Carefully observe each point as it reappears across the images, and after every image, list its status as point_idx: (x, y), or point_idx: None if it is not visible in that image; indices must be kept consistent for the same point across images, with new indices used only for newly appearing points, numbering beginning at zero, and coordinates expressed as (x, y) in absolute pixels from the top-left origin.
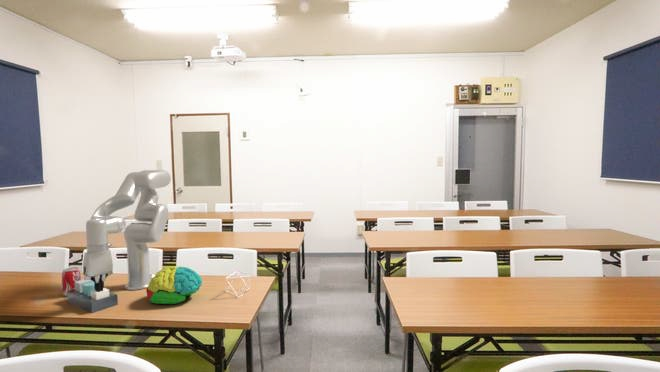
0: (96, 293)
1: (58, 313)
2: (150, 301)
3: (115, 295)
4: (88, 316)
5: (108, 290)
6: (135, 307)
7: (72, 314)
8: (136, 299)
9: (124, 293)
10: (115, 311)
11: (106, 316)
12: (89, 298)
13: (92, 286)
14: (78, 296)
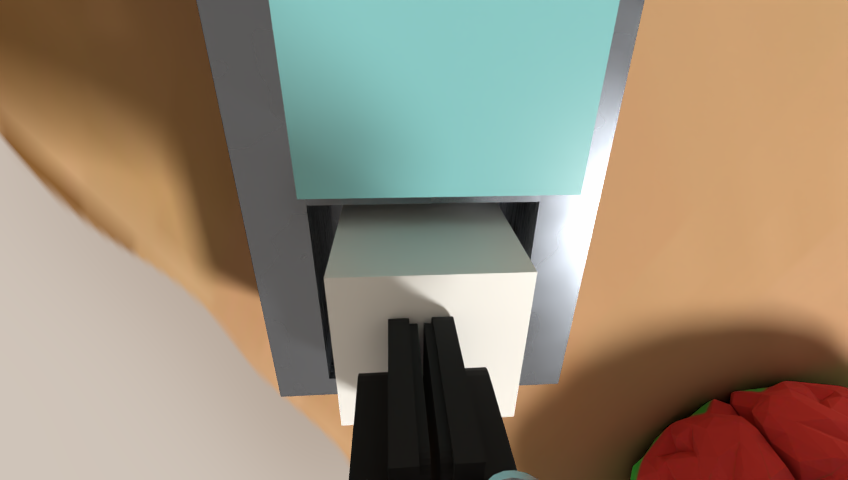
0: (344, 422)
1: (16, 27)
2: (636, 474)
3: (535, 377)
4: (262, 354)
5: (502, 410)
6: (544, 437)
7: (159, 205)
8: (671, 317)
9: (799, 40)
10: None
11: (352, 436)
12: (302, 273)
13: (403, 188)
14: (201, 17)
